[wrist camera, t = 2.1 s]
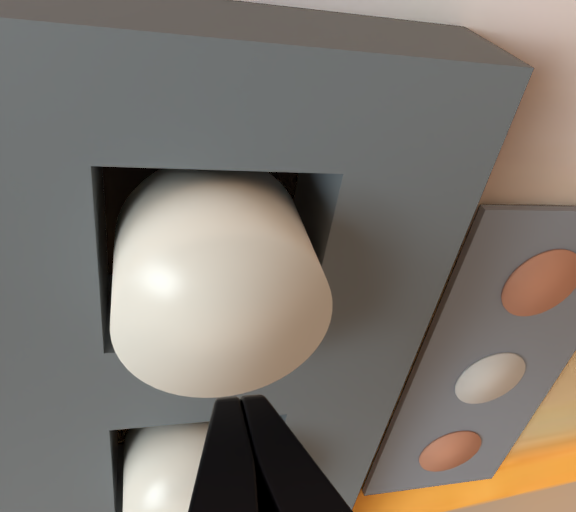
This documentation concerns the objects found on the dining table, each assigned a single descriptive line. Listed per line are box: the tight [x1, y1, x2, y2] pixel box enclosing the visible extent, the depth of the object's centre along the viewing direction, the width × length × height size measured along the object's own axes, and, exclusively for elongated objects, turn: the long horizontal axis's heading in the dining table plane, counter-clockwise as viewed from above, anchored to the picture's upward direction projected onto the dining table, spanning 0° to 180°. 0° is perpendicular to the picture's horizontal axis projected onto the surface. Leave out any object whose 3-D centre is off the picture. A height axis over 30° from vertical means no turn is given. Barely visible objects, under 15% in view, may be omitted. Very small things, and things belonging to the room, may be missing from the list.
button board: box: [0, 0, 534, 512], centre depth 18 cm, size 26×12×3 cm, turn 171°
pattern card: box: [362, 205, 576, 496], centre depth 22 cm, size 16×7×1 cm, turn 171°
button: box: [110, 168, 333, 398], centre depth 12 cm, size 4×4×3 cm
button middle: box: [123, 421, 210, 512], centre depth 17 cm, size 4×4×3 cm
